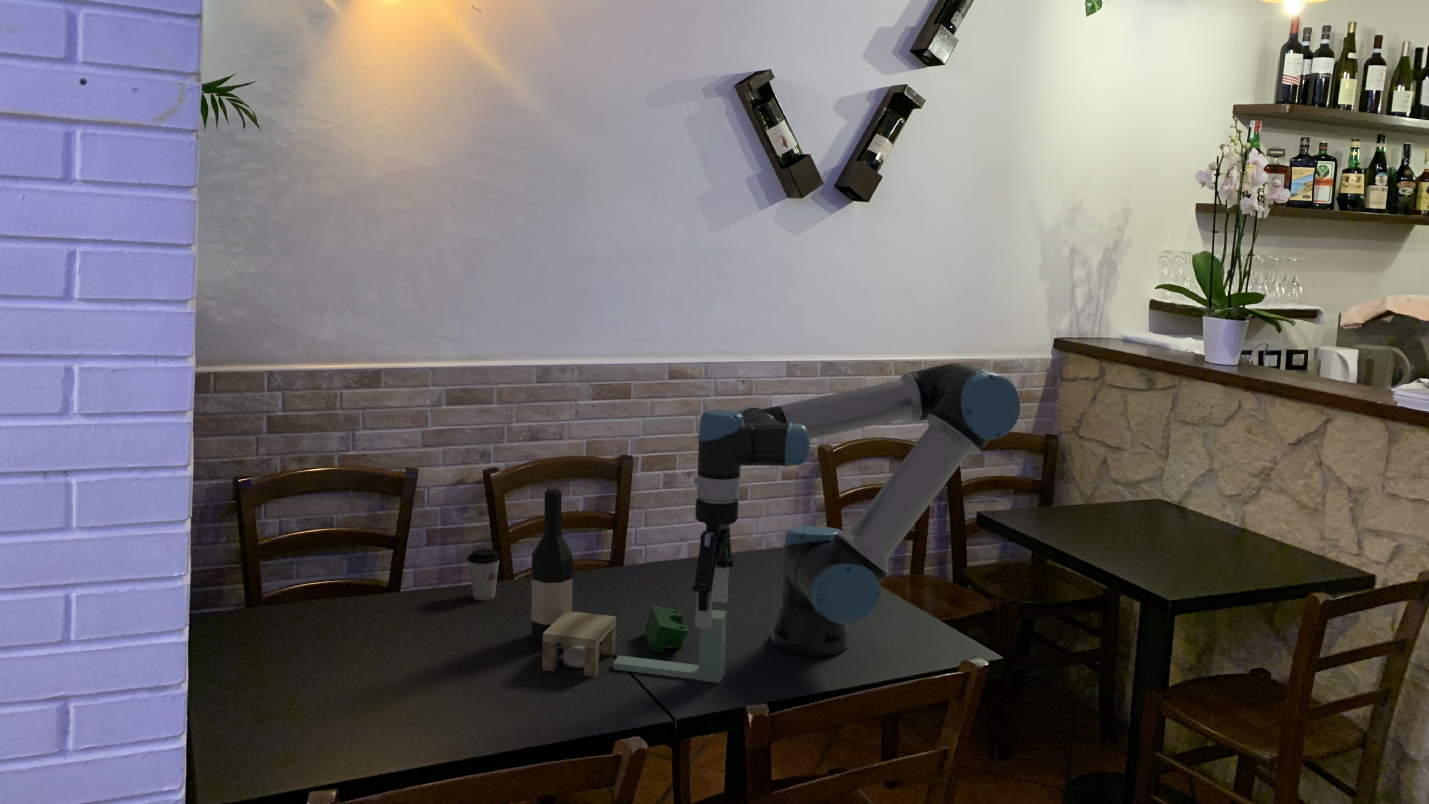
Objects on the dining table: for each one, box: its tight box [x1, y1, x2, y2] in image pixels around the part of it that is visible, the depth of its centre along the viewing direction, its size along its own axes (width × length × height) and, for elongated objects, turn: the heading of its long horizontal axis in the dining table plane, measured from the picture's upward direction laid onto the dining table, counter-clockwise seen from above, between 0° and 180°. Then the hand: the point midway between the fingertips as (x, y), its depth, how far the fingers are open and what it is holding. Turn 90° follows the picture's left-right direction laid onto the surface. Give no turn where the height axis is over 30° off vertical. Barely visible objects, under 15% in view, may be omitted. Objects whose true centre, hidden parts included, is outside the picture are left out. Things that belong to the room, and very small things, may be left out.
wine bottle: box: [530, 486, 574, 646], centre depth 207 cm, size 8×8×30 cm
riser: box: [542, 610, 617, 678], centre depth 198 cm, size 10×12×7 cm
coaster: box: [563, 645, 585, 669], centre depth 198 cm, size 6×6×2 cm
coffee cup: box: [466, 547, 501, 601], centre depth 230 cm, size 7×7×10 cm
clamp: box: [644, 604, 690, 654], centre depth 208 cm, size 12×6×9 cm
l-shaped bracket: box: [612, 609, 728, 684], centre depth 194 cm, size 20×4×12 cm, turn 78°
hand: (711, 614), depth 191 cm, fingers open, 13 cm apart
